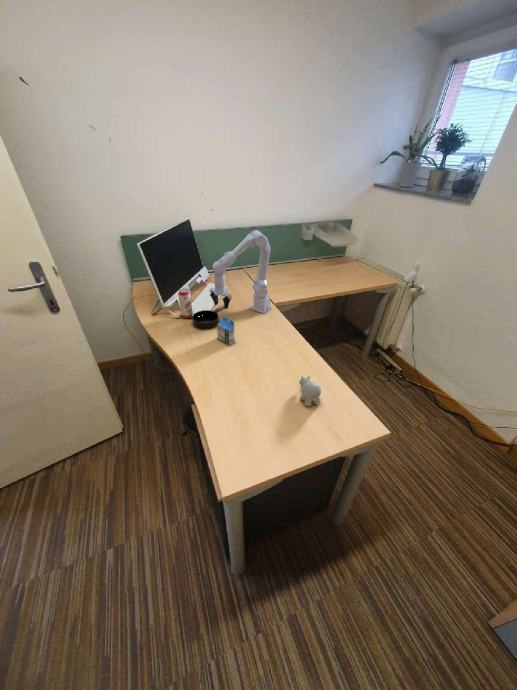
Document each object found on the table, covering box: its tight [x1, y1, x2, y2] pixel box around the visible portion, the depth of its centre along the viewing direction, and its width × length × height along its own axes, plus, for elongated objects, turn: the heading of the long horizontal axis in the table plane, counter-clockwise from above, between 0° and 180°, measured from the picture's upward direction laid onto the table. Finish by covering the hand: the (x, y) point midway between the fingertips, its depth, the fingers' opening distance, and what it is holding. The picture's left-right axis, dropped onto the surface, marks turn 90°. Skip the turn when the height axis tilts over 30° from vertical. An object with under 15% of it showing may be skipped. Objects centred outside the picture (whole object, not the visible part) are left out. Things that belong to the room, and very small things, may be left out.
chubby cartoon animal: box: [298, 375, 322, 408], centre depth 105 cm, size 7×12×8 cm, turn 16°
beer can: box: [177, 288, 194, 320], centre depth 150 cm, size 6×6×16 cm
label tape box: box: [216, 314, 235, 346], centre depth 133 cm, size 9×4×12 cm, turn 47°
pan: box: [191, 304, 226, 331], centre depth 152 cm, size 14×24×4 cm, turn 145°
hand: (221, 306), depth 156 cm, fingers open, 7 cm apart
